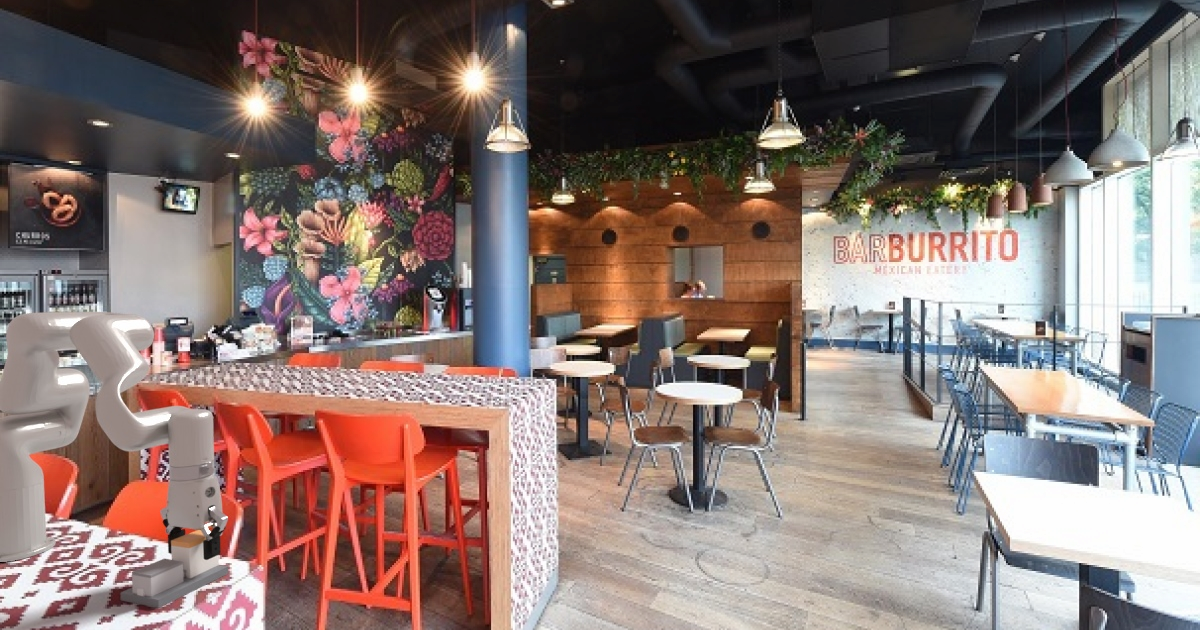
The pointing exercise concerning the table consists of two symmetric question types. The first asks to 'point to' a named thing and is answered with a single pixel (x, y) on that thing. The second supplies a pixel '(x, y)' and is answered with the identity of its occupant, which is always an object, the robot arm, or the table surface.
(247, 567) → the table surface
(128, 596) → the rail board
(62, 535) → the table surface
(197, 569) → the block
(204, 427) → the robot arm
